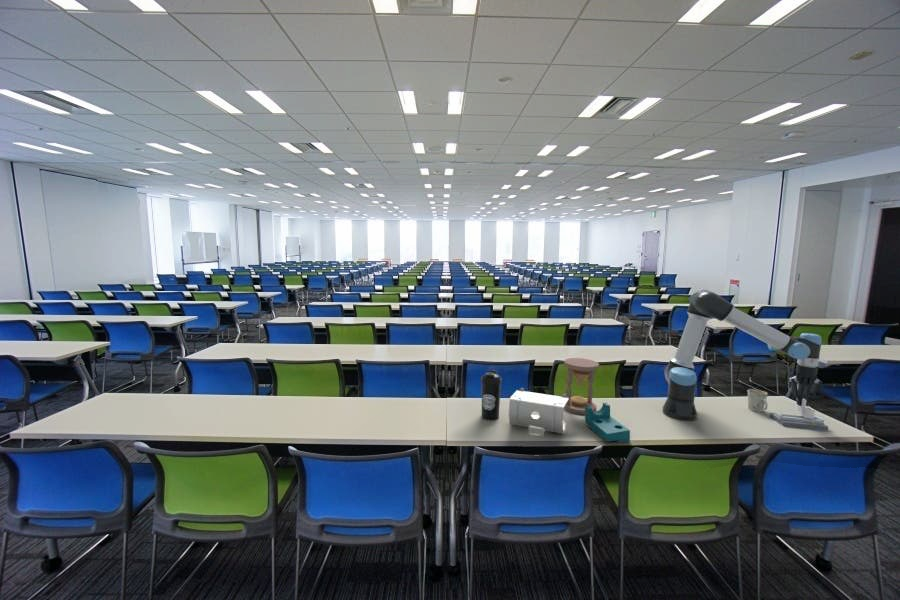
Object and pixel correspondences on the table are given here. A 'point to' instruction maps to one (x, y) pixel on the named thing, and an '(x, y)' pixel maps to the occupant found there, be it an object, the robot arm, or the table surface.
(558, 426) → the portable electronic device stand
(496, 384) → the water bottle
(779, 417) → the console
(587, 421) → the teal l-shaped bracket
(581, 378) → the hourglass
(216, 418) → the table surface
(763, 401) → the mug
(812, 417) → the fader tab
